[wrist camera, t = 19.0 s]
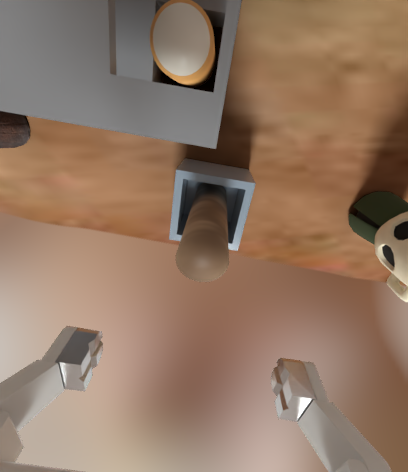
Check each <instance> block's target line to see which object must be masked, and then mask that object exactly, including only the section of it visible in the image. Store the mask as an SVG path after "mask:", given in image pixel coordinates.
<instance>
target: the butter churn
mask: <svg viewBox="0 0 408 472" xmlns="http://www.w3.org/2000/svg"><path fill="white" fill-rule="evenodd" d="M29 131H30V130H29V126H28V123H27V121H26V118H25V116H24V115H21V114H15V113H9V112H4V111H0V148H15V147H18V146H22V145H24V144H26V143H27V140H29V138H30V137H29V134H30V132H29Z"/></svg>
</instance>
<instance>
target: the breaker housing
mask: <svg viewBox="0 0 408 472" xmlns="http://www.w3.org/2000/svg"><path fill="white" fill-rule="evenodd" d="M168 1H170V0H0V111H4V112H9V113H15V114H21V115H26V116H32V117H38V118H43V119H49V120H55V121H60V122H66V123H72V124H77V125H83V126H89V127H94V128H100V129H106V130H111V131H117V132H123V133H128V134H134V135H139V136H145V137H151V138H156V139H162V140H168V141H173V142H179V143H185V144H190V145H196V146H202V147H207V148H213V149H216V146H217V140H218V134H219V129H220V123H221V117H222V111H223V105H224V100H225V94H226V88H227V82H228V76H229V71H230V65H231V59H232V53H233V47H234V42H235V36H236V30H237V24H238V18H239V13H240V7H241V1H242V0H192V1H194V2H195V3H197V4H198V5H199V6H200V7H202V9H203V10H204V11H205V12H206V14H207V16H208V17H209V20H210V22H211V25H212V26H217V27H222V28H223V33H222V40H221V46H220V53H219V60H218V66H217V73H216V79H215V86H214V93H213V92H207V91H202V90H196V89H191V88H185V87H180V86H174V85H169V84H163V83H162V72H163V71H162V70H161V69H160V68H159V67H158V65H157V63H156V62H155V60H154V57H153V55H152V51H151V47H150V29H151V25H152V21H153V19H154V17H155V15H156V13H157V11H158V10H159V9H160V8H161V7H162V6H163V5H164V4H165V3H167V2H168Z"/></svg>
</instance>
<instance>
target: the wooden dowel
mask: <svg viewBox="0 0 408 472" xmlns="http://www.w3.org/2000/svg"><path fill="white" fill-rule="evenodd" d="M176 264H177V267H178V269H179V270H180V271H181V273H182V274H184V275H185V276H186V277H188V278H189V279H192V280H194V281H199V282H209V281H213V280H216V279H218V278H219V277H220V276H222V275H223V274H224V273H225V272H226V270H227V268H228V265H229V249H228V223H227V197H226V190H225V188H224V187H223V186H221V185H216V184H210V183H202V184H201V185H200V186H199V187H198V189H197V191H196V194H195V197H194V200H193V203H192V207H191V210H190V213H189V216H188V219H187V222H186V225H185V228H184V231H183V235H182V238H181V241H180V244H179V247H178V250H177V253H176Z"/></svg>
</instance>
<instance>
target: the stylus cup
mask: <svg viewBox="0 0 408 472" xmlns="http://www.w3.org/2000/svg"><path fill="white" fill-rule="evenodd" d="M202 183H210V184H216V185H221V186H223V187H224V188H225V190H226V197H227V223H228V249H230V250H236V251H238V247H239V244H240V240H241V236H242V232H243V229H244V225H245V221H246V217H247V214H248V210H249V206H250V202H251V199H252V195H253V191H254V187H255V184H256V183H255V181H254V179H253V177H252V175H251V173H250V171H249V169H244V168H238V167H232V166H227V165H221V164H215V163H210V162H204V161H198V160H192V159H187V158H185V159H184V160H183V161H182V163H181V164H180V165H179V167H178V168H177V169H176V176H175V186H174V196H173V206H172V216H171V226H170V236H169V239H171V240H177V241H181V238H182V235H183V231H184V228H185V225H186V222H187V219H188V216H189V213H190V210H191V207H192V203H193V200H194V197H195V194H196V191H197V189H198V187H199V186H200V185H201V184H202Z"/></svg>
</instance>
